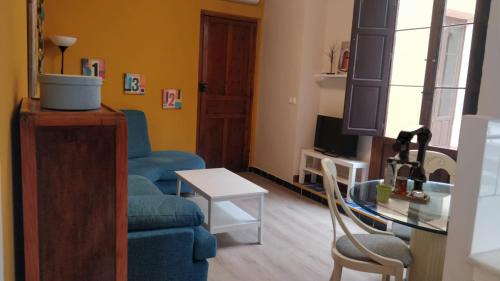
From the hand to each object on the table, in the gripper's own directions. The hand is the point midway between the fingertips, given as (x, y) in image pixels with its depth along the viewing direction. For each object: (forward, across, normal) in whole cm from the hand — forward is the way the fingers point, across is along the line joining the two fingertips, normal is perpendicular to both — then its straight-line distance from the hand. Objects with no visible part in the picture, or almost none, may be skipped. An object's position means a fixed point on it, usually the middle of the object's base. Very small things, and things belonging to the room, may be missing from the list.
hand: (401, 175), depth 248 cm
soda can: (+13, 0, -1) cm, 13 cm away
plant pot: (+13, -4, -20) cm, 24 cm away
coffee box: (+13, -14, +29) cm, 35 cm away
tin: (+13, +11, -1) cm, 17 cm away
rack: (+13, +6, -1) cm, 14 cm away
